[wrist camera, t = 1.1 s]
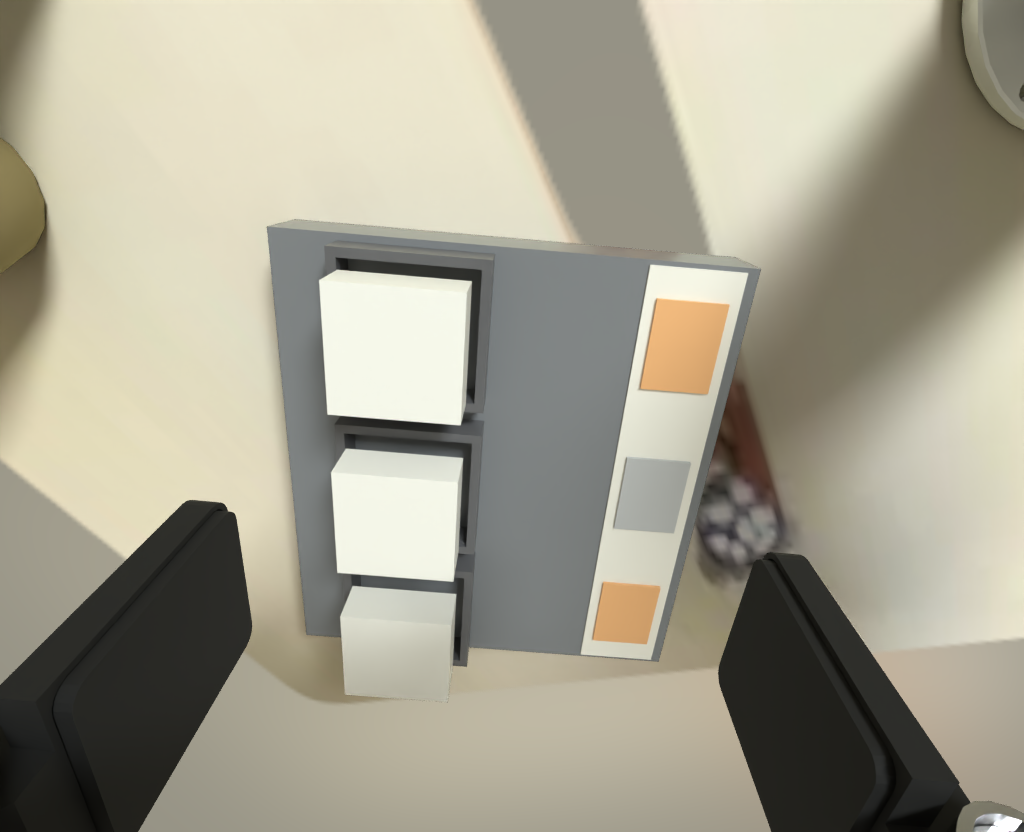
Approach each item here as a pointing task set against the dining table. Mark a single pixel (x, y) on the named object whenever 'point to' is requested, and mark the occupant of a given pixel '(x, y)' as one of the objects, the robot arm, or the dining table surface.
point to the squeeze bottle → (18, 207)
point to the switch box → (531, 428)
